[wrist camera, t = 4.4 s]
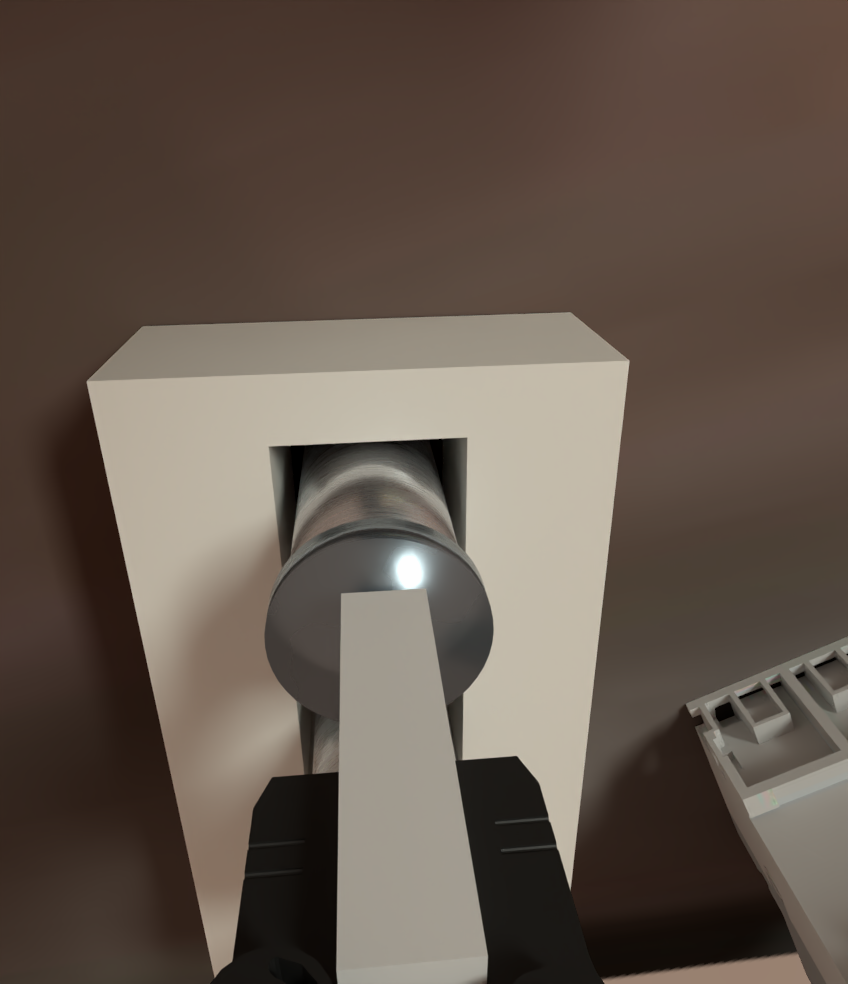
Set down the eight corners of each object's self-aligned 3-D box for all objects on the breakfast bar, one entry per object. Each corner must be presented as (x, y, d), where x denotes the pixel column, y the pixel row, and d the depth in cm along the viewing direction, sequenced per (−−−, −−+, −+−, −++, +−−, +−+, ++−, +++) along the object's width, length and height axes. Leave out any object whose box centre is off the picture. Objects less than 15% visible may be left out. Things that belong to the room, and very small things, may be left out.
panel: (142, 326, 21) (86, 381, 16) (570, 312, 22) (629, 360, 17) (235, 853, 30) (215, 981, 25) (532, 826, 31) (564, 945, 26)
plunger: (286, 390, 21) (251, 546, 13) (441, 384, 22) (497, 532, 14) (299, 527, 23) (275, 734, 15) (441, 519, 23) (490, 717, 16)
